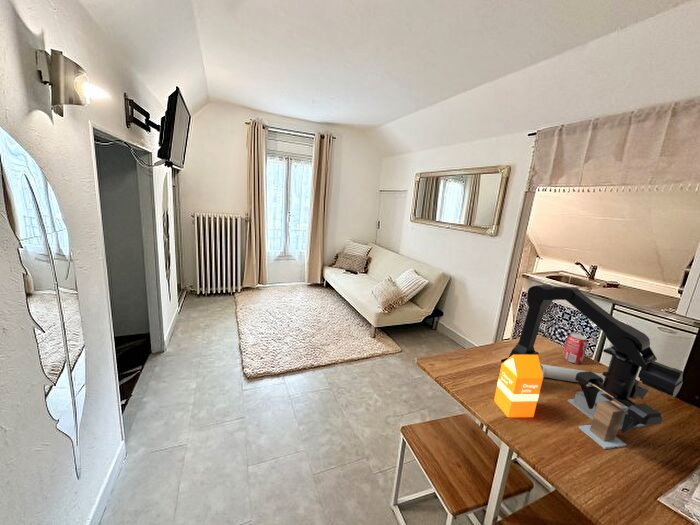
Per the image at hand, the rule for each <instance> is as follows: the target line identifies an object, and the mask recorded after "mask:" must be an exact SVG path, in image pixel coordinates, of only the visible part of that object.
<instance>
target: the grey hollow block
mask: <svg viewBox="0 0 700 525" xmlns="http://www.w3.org/2000/svg"><path fill="white" fill-rule="evenodd" d="M602 401H610V402H611V401H615V402H616V403H618V404H619V405H621V407H619V406H618V407H619V408H621V409H622V410H624V413H623V416H622V419H621V422H620V425H619V428H618V431H619V430H620V431H621V430H622V426H623V422H624V417H625V414H628V412H627V411H628V407H627V406H625V405H624V404H622V403H620V402H619V401H617V400H616V399H614V398H612V397H611V396H609V395H608V394H606V393H605V392H603V391H602V390H600V391H599V392H598V394H597V397H596V401H595V404H594V407H593V409H589V408H588V405H587V402H586V399H585V396H584V393H583V391H582V390H579V391H576V392H575V396H574V398H569V399H567V402H568V403H570V404H571V405H572V406H574V407H575V408H576V409H578V410H579V411H580V412H581V413H583V414H584V415H585V416H587V417H588V418H589V419H590V420H593V417H594V414H595V411H596V407H597V404H598V402H602ZM612 403H613V402H612ZM613 404H614V403H613ZM615 405H616V404H615ZM616 406H617V405H616ZM647 426H648V425H643V424H638V425H636V426H635V427H634V428H643V427H647ZM634 428H633V429H634Z"/></svg>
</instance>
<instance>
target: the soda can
mask: <svg viewBox="0 0 700 525" xmlns="http://www.w3.org/2000/svg"><path fill="white" fill-rule="evenodd" d="M587 346H588V341H587V336H584V335H583V334H580V333H576V332H575V333H574V332H573V333H569V335H568V336H567V338H566V341H565V343H564V348H563V351H562V357H563V358H564V360H565V361H567V362H569V363H571V364H576V365H578V364H581V363H582V362H583V360H584V357H585V354H586V349H587V348H588V347H587Z"/></svg>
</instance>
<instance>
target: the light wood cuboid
mask: <svg viewBox="0 0 700 525" xmlns="http://www.w3.org/2000/svg"><path fill="white" fill-rule="evenodd" d="M623 413H624V410H622V409H621V408H619V407H618V406H616V405H615V404H613V403H612V402H610V401H602V402H598V404H597V407H596V411H595V414H594V417H593V420H592V419H591V420H592V421H591V423H590V425H591V427H590V431H591V432H592V433H594V434H595V435H596V436H598V437H599V438H600V439H601V440H603V441H610V440H615V437H617V433H618V431H619V430H618V428H619V425H620V422H621V419H622V416H623Z"/></svg>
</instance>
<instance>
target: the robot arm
mask: <svg viewBox="0 0 700 525" xmlns="http://www.w3.org/2000/svg"><path fill="white" fill-rule="evenodd" d="M557 300H558V301H560V300H561V301H566V302H568V303H569V304H570V305H571V306H572V307H574V308H575V309H576V310H577V311H579V312H580V314H582V315H583V316H585V317H586V318H587V319H588V320H590V321H591V322H592V323H593V324H595V325H596V327H598V328H599V329H600V330H601V331H602V332H603V333H604V335H605V337H606V339H607V341H609V343H611V344H612V346H611V347H610V346H609V347H607V348H604V349H602V352H604V353H605V354H607V355H610V356H611V358H610V361H609V364H608V367H607V371H603V372H602V374H603V376H605V380H603V379H602V378H601V377H600V376H598V375H596V374H595V373H596V372H595V373H593V372H594V371H591V370H590V371H588V372H578V373H577V374H576V377H575V380H576V381H578V382H579V383H577V384H578V385H579V386H580V388H581V391H583V393H584V396H585V399H586V402H587V405H588V408H589V409H593V407H594V404H595V401H596V397H597V394H598V392H599V391H600V390H602V391H603V392H605V393H606V394H608V395H609V396H611V397H612V398H614V399H616V400H617V401H619V402H620V403H622V404H624V405H625V406H627V407H628V411H627V412H628V414H625V417H624V422H623V426H622V429H621V433H622V434H627V433H629V432H630V431H631V430H633V429H634V427H635V426H636V425H638V424H643V425H647V426H650V425H651V426H653V425H659V424H662V422H663V419H664V416H663V414H662V413H661V412H660V411H658V410H656V409H655V408H653V407H652V406H650V405H648V404H646V403H638V404H637V403H636V402H633V400H634V399H635V400H636V399H637V398H640V399H641V400H643V399H644V398H645V396H646V395H647V394H648V392H649V389H648V388H647V387H645V386H648V387H650V388H652V389H654V390H656V391H659V392H661V393H663V394H665V395H666V396H667V395H668V396H670V397H671V398H672V397H673V398H676V396H677V395H678V393H679V392H680V390H681V388H682V385H683V374H684V371H682V370H680V369H678V368H674V367H671V366H667V365H665V364H663V363H660V362H658V361H657V360H658V359H657V357H656V355H655V353H654V352H653V349H652V347H651V346H650V345H651V342H650V341H651V340H650V338H649V336H648V335H646V334H645V333H644V332H642V331H640V330H639V329H637V328H635V327H634V326H632V325H629V324H627V323H624V322H622V321H620V320H618V319H617V318H615V317H614V316H613V315H611V314H610V313H608V312H607V311H606V310H605V309H603V308H602V307H601V306H599V305H598V304H597V303H596V302H594V301H593V300H592V299H590V297H588V296H586V294H584V293H582V291H581V290H580V289H579V288H577V287H576V286H568V287H567V286H552V285H550V284H547V283H546V284H537V285H532V286H530V287H529V288H528V290H527V295H526V303H527V305H528V310H527V312H526V317H525V320H524V322H523V327H522V330H521V333H520V336H519V340H518V343H517V344H516V345H515V346H514V347H513V348H512V349H511V351H510V353H509V355H508V357H506V358H502V359H500V362H501V364H502V363H503V362H505V361H506V360H507V359H508V358H510V357H511V356H512V355H538V356H539V352H538V351H536V350H535V347H534V346H535V342H536V339H537V336H538V334H539V331H540V328H541V324H542V320H543V317H544V314H545V312H546V310H548V308H549V307H550V305H552V303H553V301H557ZM499 375H500V373H498V377H499ZM637 376H638V379H639V380H637ZM603 381H604V383H603ZM639 382H641V383H642V384H643V385H645V386H643V385H641V384H639ZM630 398H631V399H633V400H631V399H630Z"/></svg>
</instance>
